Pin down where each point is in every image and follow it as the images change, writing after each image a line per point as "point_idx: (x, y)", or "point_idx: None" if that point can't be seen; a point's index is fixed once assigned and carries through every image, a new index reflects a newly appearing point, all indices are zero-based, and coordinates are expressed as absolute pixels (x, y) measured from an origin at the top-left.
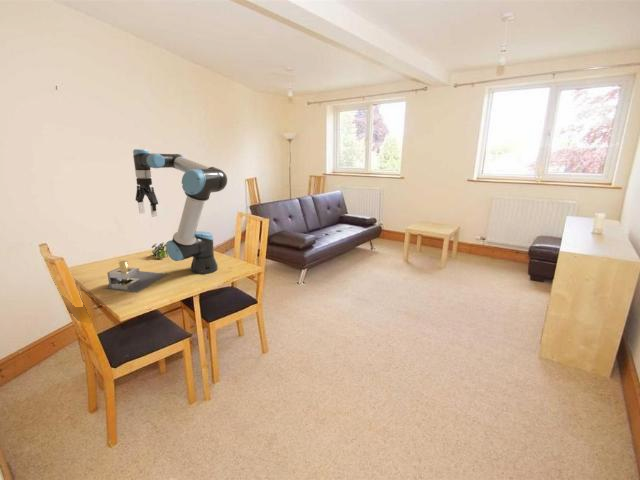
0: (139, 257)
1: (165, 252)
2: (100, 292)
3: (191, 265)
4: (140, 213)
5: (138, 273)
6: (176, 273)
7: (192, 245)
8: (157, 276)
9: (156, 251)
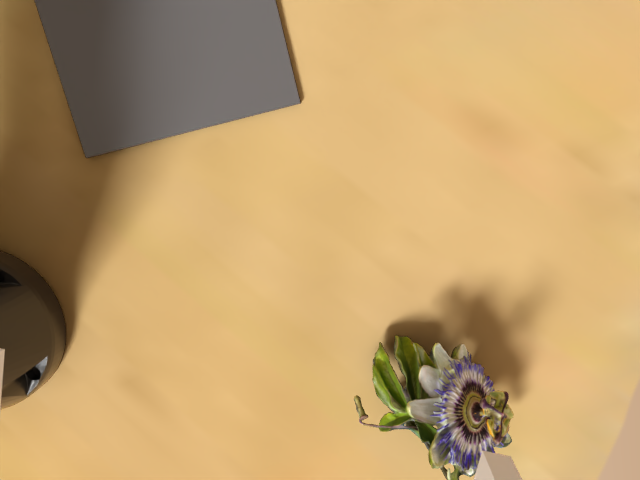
0: (558, 307)
1: (389, 404)
2: None
3: (9, 285)
4: (481, 458)
5: (263, 68)
6: (74, 197)
7: None
8: (111, 91)
9: (430, 368)
